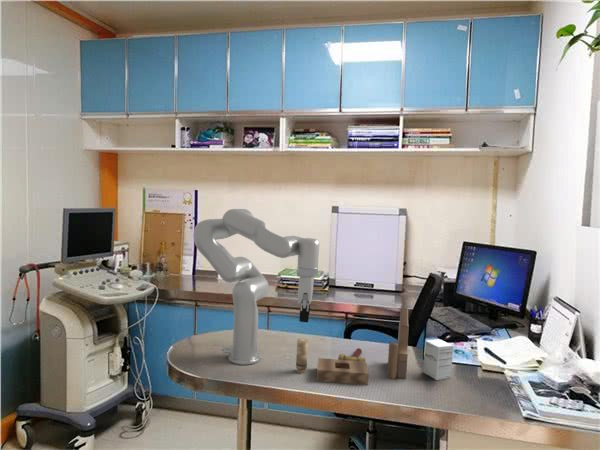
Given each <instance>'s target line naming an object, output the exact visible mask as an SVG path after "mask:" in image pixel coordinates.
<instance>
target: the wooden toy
mask: <svg viewBox="0 0 600 450" xmlns="http://www.w3.org/2000/svg"><path fill="white" fill-rule="evenodd" d="M409 328H410V326H409V308H408V307H407V306H400V314H399V323H398V336H397V342H394V341H389V343H388V354H387V355H388V356H387V357H388V358H387V378H389V379H396V378H397V379H407V372H408V369H407V368H408V357H409V355H408V347H409V346H408V344H409V343H408V342H409Z"/></svg>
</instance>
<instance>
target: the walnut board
mask: <svg viewBox="0 0 600 450" xmlns="http://www.w3.org/2000/svg"><path fill="white" fill-rule="evenodd" d="M316 369H317V370H316V382H326V383H327V382H328V383H338V384H339V383H340V384H353V385H363V386H364V385H366V386H369V376H370V375H369V369H368V365H367V361H365V362H364V361H350V360H338V358H337V359H334V358H323V357H321V358H320V357H318V358H317V368H316Z"/></svg>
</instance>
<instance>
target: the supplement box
mask: <svg viewBox="0 0 600 450" xmlns="http://www.w3.org/2000/svg"><path fill="white" fill-rule="evenodd" d="M453 354H454V345H453V344H451V343H449V342H446V341H444V340H443V339H440V338H436V339H430V340H425V346H424V359H423V373H424V374H425V375H427V376H429V377H431V378H432V379H434V380H435V381H440V380H447V379H450V378H452V368H453V367H452V366H453V357H454V355H453Z"/></svg>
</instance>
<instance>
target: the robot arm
mask: <svg viewBox="0 0 600 450" xmlns="http://www.w3.org/2000/svg"><path fill="white" fill-rule="evenodd" d="M236 234H237V235H240V236H242V237H244V238H245V239H247V240H250V241H252V242H253V243H254V244H255V245H256V246H257V247H258V248H260V249H261V250H262V251H264V252H265V253H267V254H268V253H269V254H270V255H272V256H275V257H277V258H281V259H285V258H290V257H294V256H295V257H296V256H297V267H296V276H297V277H299V279H298V288H297V289H298V290H297V304H298V305H300V310H299V320H298V321H299V322H300V323H309V319H310V318H309V316H310V312H311V311H310V309H311V303H312V301H313V300H312V299H313V292H314V282H315V279H316V278H318V275H319V274H318V273H319V271H318V269H319V255H320V254H319V253H320V241H319V240H318V239H317V238H310V237H308V238H307V237H300V236H295V235H287V236H281V235H278V234H276V233H275V232H272V231H270V230H269V229H267V228H266V223H265V222H264V221H263V220H261V219H258V218H257V217H254V215H253V212H251V211H250V210H248V209H246V208H232V209H228V210H227V211H225V213H224V214H223V216H222V218H214V219H211V218H210V219H209V218H208V219H204V220H201V221H199V222H198V223H197V224H196V226H195V227H194V230H193V235H192V236H193V243H194V245H195V246H196V249H197V250H198V251H199V253H200V254H201V255H202V256H203V257H204V258H205V259H206V261H208V263H209V264H210V265H211V267H212V268H213V270H215V273H217V274H218V275H219V277H220V278H221V279H222V280H223V281H224V282H226V283H227V284H229V283H235V282H237V283H235V285H234V286H233V289H232V291H231V292H232V303H233V330H232V331H233V333H232V345H230V346H225V345H223V346H222V348H221V351H222V352H223V354H228V359H227V360H228V361H229V362H230V363H232V364H236V365H242V366H243V365H246V366H247V365H252V364H255V363H258V362H259V361H260V360H261V354H260V353H259V352H258V331H259V309H258V305H257V301H259V300H262V299H264V298H265V297H266V296H267V295H268V293H269V291H270V285H269V282H268V280H267V278H266V277H265V276H264V275H263V274H262V273H261V271H259V269H258V268H257V267H256V265H254V263H253V262H252V261H251V260H250V259H249V258H247V257H244V256H236V257H234V256H233V255H232V254H231V253H230V252H229V251H228V250H227V248H226V247H225V246H224V245H222V244H221V243H219V242H218V241H219V240H224V239H228V238H230V237H232V236H235V235H236Z"/></svg>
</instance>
